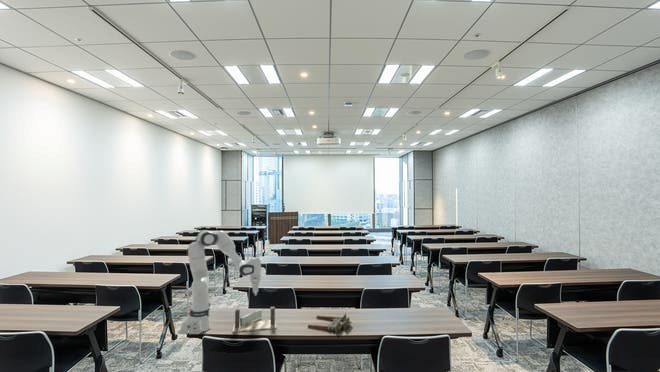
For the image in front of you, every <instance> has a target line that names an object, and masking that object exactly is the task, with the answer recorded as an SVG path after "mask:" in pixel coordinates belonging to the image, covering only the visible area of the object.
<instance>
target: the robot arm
mask: <svg viewBox="0 0 660 372" xmlns="http://www.w3.org/2000/svg"><path fill="white" fill-rule="evenodd" d="M213 245H215V246H217V247H218V249H219V250H220V252H222V253H223V254H224V255H226V256H228V257H229V259H230V260H231V261H232V263H233V264H234V268H235V271H236V272H237V273H238V274H239V275H241V276H243V277H246V276H249V281H250V283H251V287H252V293H253V294H254V296H257V295H258V292H259V285H260V282H261V280H262V272H261V270H262V263H261V259H260V257H259V258H258V257H254V256H252V257H250V258H249V259H248V260H247V261H246V260H245V259H244V260H243V259H242V258H241V257H240V255H238V253H237V252H236V245H235V242H234V241H233V240H232V238H231V237H230V236H229V235H228V234H227V233H226V231H224V230H217V231H216V232H212V231H211V230H207V229H203V230H201V231H199V232H198V233H197V235H196V237H195V241H193V242H191V243H190V244H189V245H188V247H187V248H188V251H187V252H188V253H187V254H188V255H187V256H188V262H189V268H190V272H191V276H192V279H193V281H192V283H191V296H192V307H191V308H190V309H189V313H188V314H189V315H187V316H186V317H185V318H184V319H183V320H182V322H181V324H180V326H179V327H178V328H177V330H176V334H177V335H200V334H201V332H202V333H204V332H206V331H208V329H209V330H210V329H211V327H212V326H211V322H210V305H209V304H210V299H209V298H210V297H209V284H210V275H209V270H208V267H207V265H208V264H207V260H206V254H205V248H206V247H210V246H213ZM188 331H189V334H187V333H188ZM203 331H204V332H203Z"/></svg>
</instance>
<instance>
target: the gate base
mask: <svg viewBox="0 0 660 372" xmlns="http://www.w3.org/2000/svg"><path fill="white" fill-rule="evenodd" d="M240 310H241V309H235V311H234V323H233V327H232V334H233V333H243V332H253V331H254V332H255V331H267V330H274V329H275V330H276V329H277V319H275V318H276V312H275V311H276V307H275V306H270V316H269V318H270V319H267V320H266V319H265V320H253V321H251V322H249V323H247V324H245V325H243V326H240V318H241V317H240V316H241V315H240V313H241V312H240Z"/></svg>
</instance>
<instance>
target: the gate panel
mask: <svg viewBox="0 0 660 372" xmlns="http://www.w3.org/2000/svg"><path fill="white" fill-rule="evenodd" d="M262 313H263V310H262V309H258V310H255V311H253V312H251V313H249V314H246V315H244V316H242V317H240V326H243V325H245V324H247V323H249V322H253V321H256V320H258V319H259V318H262V317H263V316H262V315H263V314H262Z"/></svg>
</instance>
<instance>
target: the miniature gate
mask: <svg viewBox="0 0 660 372" xmlns="http://www.w3.org/2000/svg"><path fill="white" fill-rule="evenodd" d="M317 318H320V319H319V320H324V319H326V321H332V322H331V323H329V324H328V325H321V324H320V325H318V324H317V325H316V324H308V325H307V328H309V329H314V328H315V330H323V331H334V332H335V333H334V334H335V335H337V334H338V333H339V331H341V330H342V329H343V332H346V330H347V329H348V328H350V325H351V324H352V321H350V316H348V317H347V313H346V312H345V314H344V315H343V316H328V315H316V319H317Z"/></svg>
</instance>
